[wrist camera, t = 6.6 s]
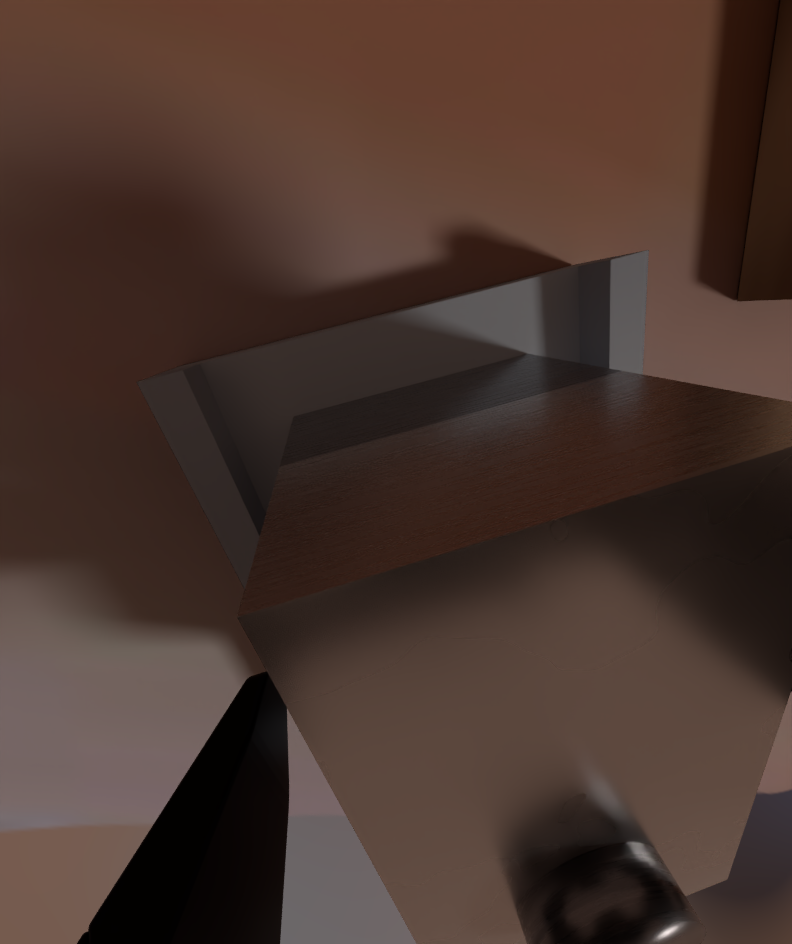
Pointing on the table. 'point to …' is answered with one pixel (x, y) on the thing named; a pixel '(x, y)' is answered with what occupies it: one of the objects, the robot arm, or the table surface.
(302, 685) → the grey drawer
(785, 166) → the stand
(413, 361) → the cabinet frame
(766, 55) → the table surface
